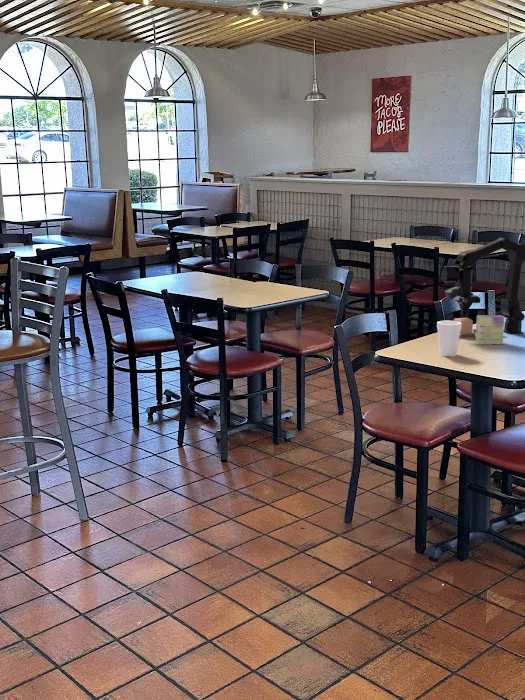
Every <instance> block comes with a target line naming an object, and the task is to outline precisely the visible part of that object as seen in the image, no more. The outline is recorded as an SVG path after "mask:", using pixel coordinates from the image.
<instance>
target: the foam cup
mask: <svg viewBox="0 0 525 700" xmlns="http://www.w3.org/2000/svg"><path fill="white" fill-rule="evenodd" d="M461 325H462V323H461V322H458V321H454V320H440V321H439V320H438V321H437V322H436V329H437V337H438V347H439V348H438V350H439V355H440V356H441V355H443V356H442V357H447V356H451V357H456V356H457V353H458V348H459V343H460V338H459V337H460V331H461Z"/></svg>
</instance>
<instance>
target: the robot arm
mask: <svg viewBox="0 0 525 700" xmlns="http://www.w3.org/2000/svg"><path fill="white" fill-rule="evenodd" d="M499 250H504V251H505V252H507V256H508V257H507V258H508V260H509V272H508V280H507V289H506V295H505V297H504V298H501V299H500V304H499V305H500V306H499V308H500V312H501V313H502V314H503V315H502V316H503V317H504V319H505V321H504V329H503V333H504V332H505V333H506V334H509V335H516V334H524V331H522V323H523V321H524V320H525V314H524V313H523V312H522V310H521V302H520V300H519V290H520V281H521V275H522V274H521V272H522V266H523V263H524V262H525V244H523V243H516V242H515V241H512V240H509V239H508V238H505V237H499V238H497V239H496V240H494V241H491V242H489V243H486V244H484V245H482V246H480V247H477V248H475V249H467V250H464V251H461V252H459V253H458V254H457V257H456V259H455V260H454V262H453V263H452V265H451V266H447V265H443V269H442V271H441V273H440V278H441V281H442V282H443V283H454V282H455V286H453V287H451V288H449V289H447V290H445V291H444V293H445V297H446V298H447V299H449V300H453V299H454V298H456V299H454V301H455V302H456V303H457V304H458V306H459V309H460V314H461V317H462V318H466V315H467V314H468V312H469V310H470V308H471V306H472V305H473V304H480V303H481V297H480V296H479V295H475V294H474V293H473V292H472V287H473V286H474V283H472V281H473V272H474V271H478V268H476V267H475V266H474V264H476V263H477V262H478V261H479V260H480V259H482V258H483V257H487V256H488V255H490V254H492V253H494V252H497V251H499Z"/></svg>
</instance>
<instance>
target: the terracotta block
mask: <svg viewBox="0 0 525 700" xmlns="http://www.w3.org/2000/svg"><path fill="white" fill-rule="evenodd" d="M453 321H458V322H461V323H462V325H461V331H460V334H461V335H462V334H472V333H473V325H474V324H473V323H474V321H473V319H471V318H468V317H459V318H458V317H457V318H456V317H455V318H453Z"/></svg>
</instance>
